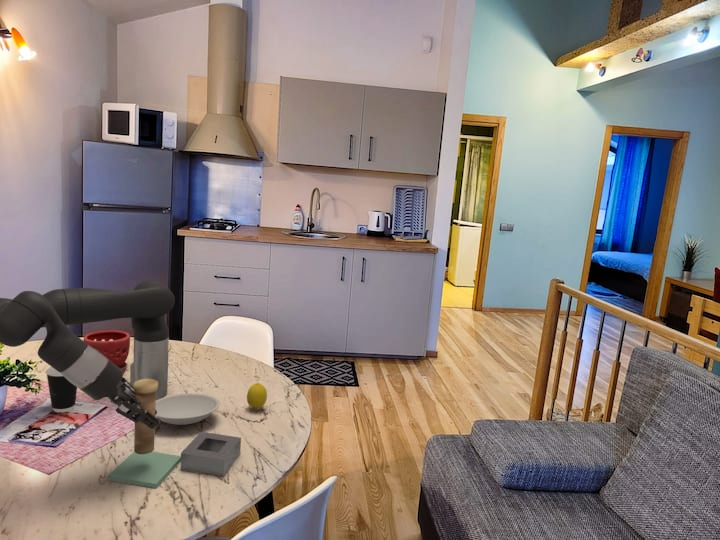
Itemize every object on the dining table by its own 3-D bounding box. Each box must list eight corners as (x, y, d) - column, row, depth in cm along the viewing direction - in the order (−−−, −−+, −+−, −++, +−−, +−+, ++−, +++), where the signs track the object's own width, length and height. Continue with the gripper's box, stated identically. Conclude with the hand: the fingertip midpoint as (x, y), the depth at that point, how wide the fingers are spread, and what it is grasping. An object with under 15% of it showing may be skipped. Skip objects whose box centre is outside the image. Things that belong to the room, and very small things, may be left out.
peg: (127, 453, 107) (128, 385, 104) (140, 442, 112) (141, 377, 109) (148, 456, 106) (150, 389, 104) (160, 445, 111) (162, 380, 109)
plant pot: (138, 371, 162) (138, 335, 160) (98, 383, 151) (98, 344, 149) (114, 360, 169) (114, 326, 167) (74, 371, 158) (74, 334, 156)
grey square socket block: (180, 469, 111) (180, 453, 111) (200, 446, 121) (201, 431, 121) (223, 476, 110) (224, 459, 110) (240, 453, 120) (241, 437, 119)
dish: (149, 441, 122) (149, 421, 121) (147, 414, 135) (147, 396, 134) (223, 431, 129) (224, 413, 129) (214, 407, 142) (215, 390, 141)
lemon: (261, 415, 140) (263, 388, 139) (243, 411, 141) (244, 385, 140) (269, 407, 145) (270, 380, 144) (251, 403, 146) (252, 377, 145)
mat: (106, 480, 106) (106, 475, 105) (136, 453, 116) (136, 449, 116) (156, 488, 104) (156, 484, 104) (181, 460, 115) (181, 456, 115)
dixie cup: (86, 402, 138) (86, 364, 136) (70, 416, 130) (70, 376, 128) (56, 401, 138) (56, 362, 136) (39, 414, 130) (38, 373, 128)
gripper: (78, 372, 107) (139, 418, 114) (75, 400, 94) (144, 450, 102) (106, 347, 108) (164, 394, 116) (107, 371, 96) (172, 422, 104)
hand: (154, 420), depth 109 cm, fingers closed on peg, 4 cm apart
